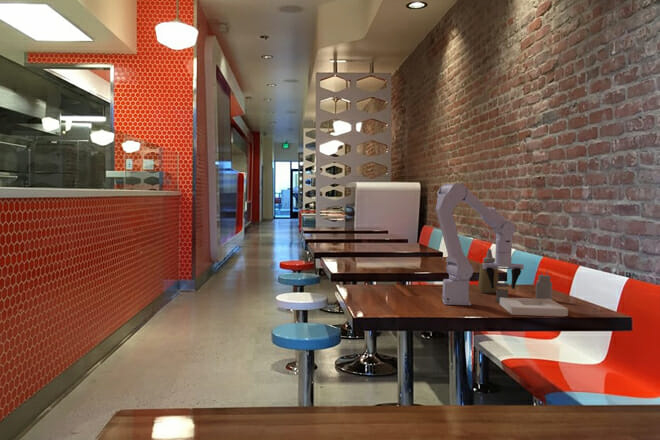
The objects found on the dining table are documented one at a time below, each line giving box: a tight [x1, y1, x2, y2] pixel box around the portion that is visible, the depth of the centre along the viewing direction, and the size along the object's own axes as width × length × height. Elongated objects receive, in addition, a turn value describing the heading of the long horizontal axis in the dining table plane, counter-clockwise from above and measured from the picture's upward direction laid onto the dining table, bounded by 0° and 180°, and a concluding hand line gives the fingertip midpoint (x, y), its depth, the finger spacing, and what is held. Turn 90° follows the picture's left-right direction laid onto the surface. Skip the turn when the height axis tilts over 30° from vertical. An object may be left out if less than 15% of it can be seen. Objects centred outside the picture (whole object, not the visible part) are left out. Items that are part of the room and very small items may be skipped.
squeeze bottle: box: [478, 248, 500, 295], centre depth 221 cm, size 8×8×18 cm
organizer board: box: [499, 297, 569, 317], centre depth 187 cm, size 18×18×2 cm
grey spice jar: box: [496, 282, 509, 304], centre depth 201 cm, size 4×4×7 cm
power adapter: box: [535, 269, 553, 300], centre depth 206 cm, size 3×5×12 cm, turn 58°
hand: (502, 288), depth 201 cm, fingers open, 7 cm apart
